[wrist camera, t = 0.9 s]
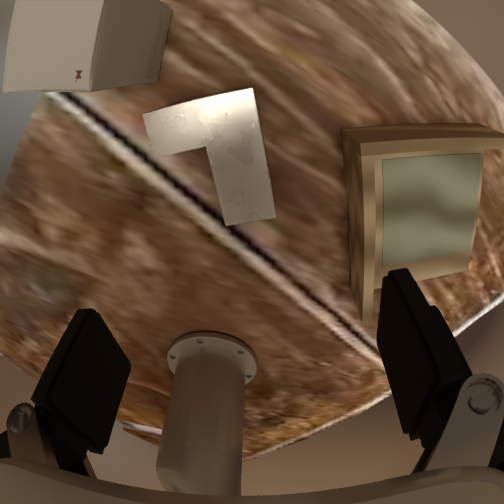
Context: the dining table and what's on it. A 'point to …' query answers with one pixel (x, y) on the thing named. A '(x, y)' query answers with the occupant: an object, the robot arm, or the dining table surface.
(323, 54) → the dining table surface
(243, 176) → the bracket
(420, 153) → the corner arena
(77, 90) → the supplement box
